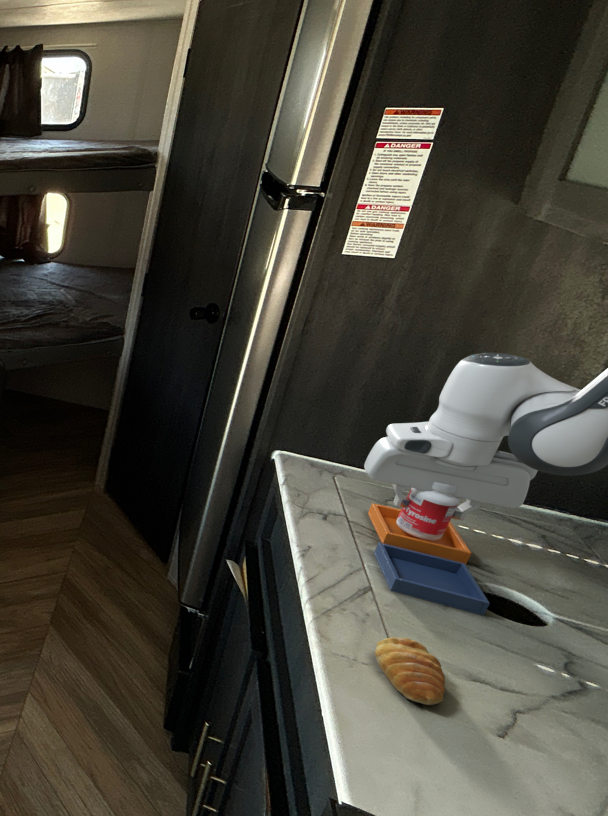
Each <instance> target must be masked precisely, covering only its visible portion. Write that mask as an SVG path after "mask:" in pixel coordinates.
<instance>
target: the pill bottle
mask: <svg viewBox="0 0 608 816" xmlns="http://www.w3.org/2000/svg"><path fill="white" fill-rule="evenodd" d="M456 488H457V486H452V485H448V484H443V483H438V482H434V484H433V486H432V489H434V490H433V491H425V490H420V489H415V488H410V490H409V492H408V494H407V495H406V496H407V497H408V499H409V500H410V502H409V504H408V505H407V508H403V507H401V508H400V509H401V512H400V514H399V516H398V518H397V525H398V526H399V527H400V528H401V529H402V530H403V531H405V532H407V533H408V534H410V535H413V536H415V537H418V538H421V539H425V540H438V539H440V538H441V537H442V536H443V534H444V532H445V530H446V528H447V526H448V524H449V522H450V521H451V520H452V519H453V518H452V516H453V514H454V512H455V510H456V508H457V507H458V506H459V505H460V499H461V498H458V497H454V496H451V493H454V492H455V491H456Z"/></svg>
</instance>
